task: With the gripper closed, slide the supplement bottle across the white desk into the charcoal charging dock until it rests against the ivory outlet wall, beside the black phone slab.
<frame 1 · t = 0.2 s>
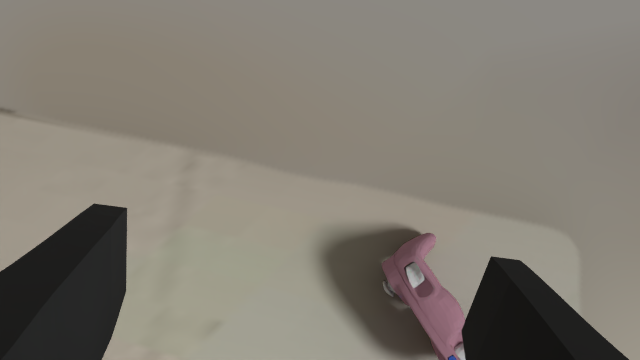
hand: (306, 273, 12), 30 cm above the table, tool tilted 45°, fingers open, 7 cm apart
video game controller: (429, 307, 43), on the table
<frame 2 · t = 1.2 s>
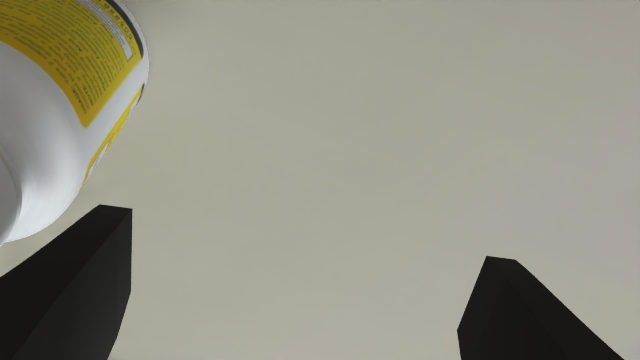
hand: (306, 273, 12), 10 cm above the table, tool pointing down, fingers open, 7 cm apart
supplement bottle: (71, 49, 20), on the table
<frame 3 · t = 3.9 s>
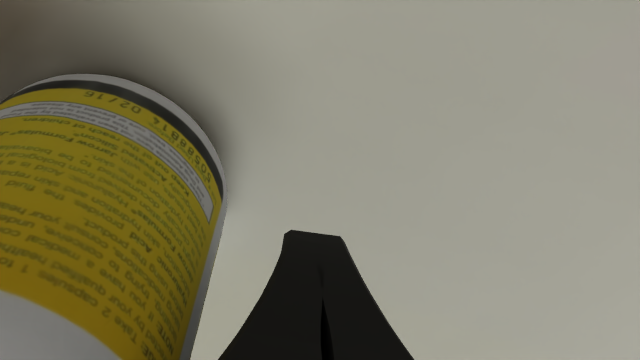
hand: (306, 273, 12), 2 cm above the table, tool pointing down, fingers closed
supplement bottle: (112, 176, 13), on the table, touching gripper
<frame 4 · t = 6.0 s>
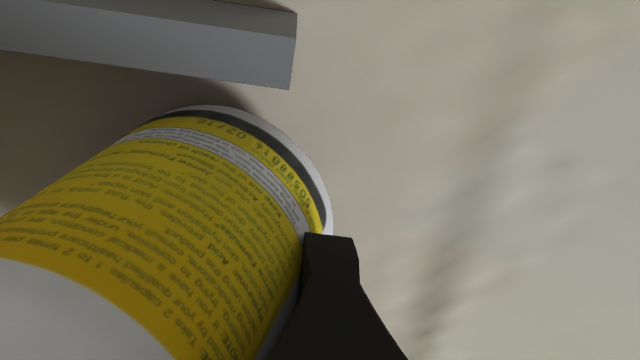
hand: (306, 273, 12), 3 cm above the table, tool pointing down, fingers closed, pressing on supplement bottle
supplement bottle: (231, 202, 14), on the table, touching gripper
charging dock: (66, 187, 14), on the table
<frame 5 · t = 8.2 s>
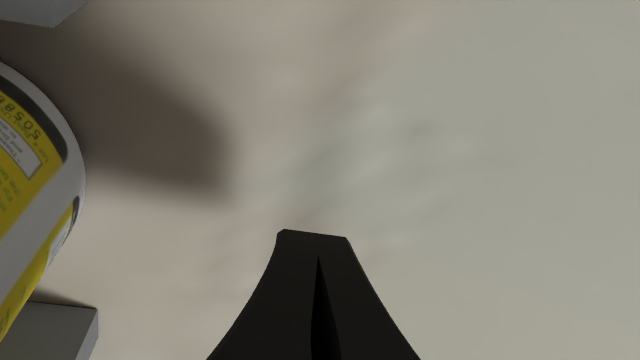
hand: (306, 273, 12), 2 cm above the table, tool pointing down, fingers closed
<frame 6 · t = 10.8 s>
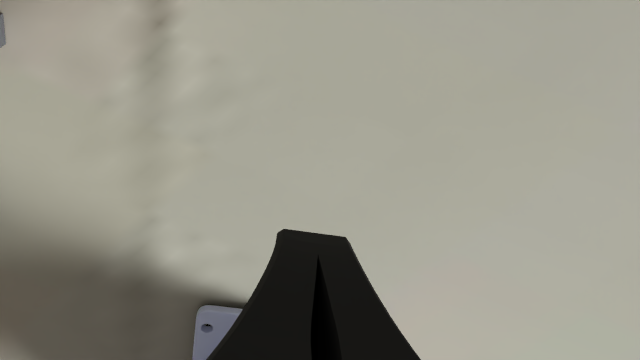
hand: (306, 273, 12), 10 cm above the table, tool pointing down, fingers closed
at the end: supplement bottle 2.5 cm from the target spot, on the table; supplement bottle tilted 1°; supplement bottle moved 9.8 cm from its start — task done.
